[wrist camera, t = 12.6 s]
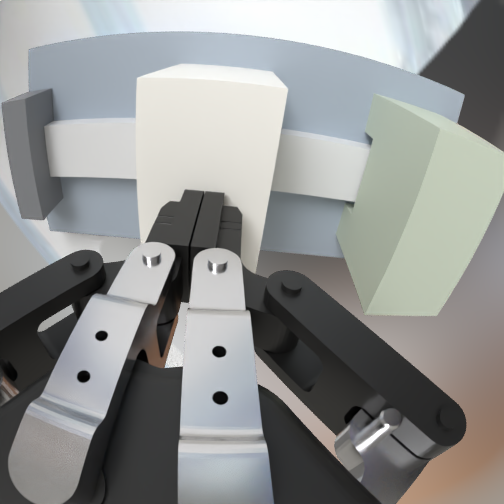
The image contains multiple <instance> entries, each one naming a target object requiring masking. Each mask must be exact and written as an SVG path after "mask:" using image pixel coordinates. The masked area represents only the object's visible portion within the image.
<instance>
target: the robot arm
mask: <svg viewBox="0 0 504 504" xmlns="http://www.w3.org/2000/svg"><path fill="white" fill-rule="evenodd" d="M224 195H225V193H222V192H211V191H205V194H204V191H199V190H187V189H185V190H184V193H183V195H182V198H181V200H180V202H177V201H169V202H168V203H166V204H165V205H164V206H162V207H161V209H160V211H159V213H158V217H157V218H156V220H155V223H154V224H153V226H152V228H151V231H150V233H149V235H148V237H147V240H146V242H145V243H144V244H141V245H139V246H137V247H135V248H134V249H133V250H132V251H131V252H130V254H129V256H128V257H127V259H126V260H124V261H119V262H111V263H103V258H102V256H101V255H100V254H99V253H97V252H95V251H92V250H80V251H77V252H74V253H72V254H70V255H68V256H66V257H64V258H62V259H60V260H58V261H56V262H54V263H53V264H51V265H49V266H47V267H45V268H43V269H41V270H40V271H38V272H36V273H34V274H32V275H31V276H29V277H27V278H25V279H23V280H22V281H20V282H19V283H17V284H15V285H13V286H11V287H9V288H8V289H6V290H4V291H3V292H1V293H0V504H396V503H397V502H398V500H399V499H400V498H401V497H402V496H403V495H404V493H405V492H406V491H407V490H408V488H409V487H410V486H411V485H412V483H413V482H414V481H415V480H416V478H417V477H418V476H419V474H420V473H421V472H422V470H423V469H424V467H425V466H426V465H427V463H428V462H429V461H430V460H432V459H433V458H435V457H437V456H438V455H440V454H442V453H443V452H445V451H446V450H448V449H449V448H451V447H452V446H454V445H455V444H457V443H458V442H459V441H460V440H461V439H462V438H463V436H464V434H465V431H466V418H465V415H464V412H463V410H462V409H461V408H460V406H459V405H458V404H457V403H456V402H455V401H454V400H452V399H451V398H450V397H449V396H448V395H447V394H446V393H444V392H443V391H442V390H441V389H440V388H439V387H437V386H436V385H435V384H434V383H433V382H432V381H430V380H429V379H428V378H427V377H426V376H425V375H423V374H422V373H421V372H420V371H419V370H418V369H416V368H415V367H414V366H413V365H411V363H409V362H408V361H407V360H406V359H404V358H403V357H402V356H401V355H400V354H399V353H398V352H396V351H395V350H394V349H393V348H392V347H391V346H389V345H388V344H387V343H385V341H383V340H382V339H381V338H379V336H377V335H376V334H375V333H374V332H373V331H371V330H370V329H369V328H368V327H366V326H365V325H364V324H363V323H362V322H361V321H360V320H358V319H357V318H356V317H355V316H354V315H352V314H351V313H350V312H349V311H348V310H346V309H345V308H344V307H343V306H342V305H340V304H339V303H338V302H337V301H335V300H334V299H333V298H332V297H331V296H329V295H328V294H327V293H326V292H325V291H323V290H322V289H321V288H320V287H318V286H317V285H316V284H315V283H314V282H312V281H311V280H310V279H309V278H307V277H306V276H305V275H303V274H300V273H298V272H295V271H288V270H284V271H278V272H275V273H273V274H272V275H270V276H269V278H265V277H262V276H259V275H256V274H254V273H252V272H251V271H249V270H248V269H247V268H246V267H245V266H244V265H243V263H242V261H241V237H242V213H241V212H240V210H239V209H238V207H234V206H224ZM189 299H190V305H189V308H188V310H187V319H186V331H185V345H184V359H183V367H173V368H165V363H166V360H167V356H168V353H169V349H170V346H171V343H172V339H173V336H174V332H175V329H176V326H177V323H178V312H179V309H180V304H181V302H186V303H188V302H189ZM71 304H72V307H73V310H74V313H72V314H70V315H69V316H67V317H65V318H64V319H62V320H61V321H59V322H57V323H56V324H54V325H53V326H51V327H49V328H48V329H46V330H45V331H42V332H37V330H38V327H39V325H40V324H41V323H42V322H43V321H44V320H46V319H48V318H49V317H51V316H52V315H54V314H56V313H57V312H59V311H61V310H62V309H64V308H66V307H67V306H69V305H71ZM254 350H255V352H256V354H257V355H258V356H259V357H260V359H261V360H262V361H263V362H264V363H265V364H266V365H267V366H268V367H269V368H270V369H271V370H272V371H273V372H274V373H275V374H276V375H277V377H279V379H280V380H281V381H282V382H283V383H284V384H285V385H286V386H287V387H288V388H289V389H290V390H291V391H292V392H293V393H294V394H295V395H296V396H297V397H298V398H299V399H300V400H301V401H302V402H303V403H304V404H305V405H306V406H307V407H308V408H309V409H310V410H311V411H312V412H313V413H314V414H315V415H316V416H317V417H318V418H319V419H320V420H321V421H322V422H323V423H324V424H325V425H326V426H327V427H328V428H329V429H330V430H331V431H332V432H333V433H334V434H335V435H336V439H335V444H334V447H335V452H336V455H337V457H338V458H339V460H340V461H341V462H342V464H343V465H344V466H343V465H342V464H341V463H340V462H339V461H338V460H337V459H336V458H335V457H334V456H333V455H332V454H331V453H330V452H329V450H328V449H327V448H326V447H325V446H324V445H323V444H322V443H321V442H320V441H319V440H318V439H317V438H316V437H315V436H314V435H313V434H312V432H311V431H310V430H309V429H308V428H307V427H306V426H305V425H304V424H303V423H302V422H301V420H300V419H299V418H298V417H297V416H296V415H295V414H294V413H293V412H292V411H291V409H290V408H289V407H288V406H287V405H286V404H285V403H284V402H283V401H282V400H281V399H280V398H279V397H278V396H276V395H275V394H274V393H272V392H271V391H269V390H268V389H266V388H264V387H262V386H261V385H259V384H257V375H256V366H255V355H254Z"/></svg>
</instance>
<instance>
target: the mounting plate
mask: <svg viewBox="0 0 504 504" xmlns="http://www.w3.org/2000/svg"><path fill="white" fill-rule="evenodd" d="M178 64H203V65H218V66H230V67H240V68H249V69H258V70H265V71H272V72H273V73H274V74H275V75H276V76H277V77H278V78H279V79H280V80H281V81H282V82H283V84H284V85H285V86H286V87H287V88H288V94H287V99H286V105H285V111H284V117H283V122H282V128H281V134H280V140H279V145H278V151H277V157H276V162H275V168H274V174H273V179H272V185H271V191H270V196H269V202H268V207H267V213H266V219H265V224H264V230H263V235H262V241H261V246H260V250H264V251H274V252H284V253H295V254H306V255H316V256H326V257H338V258H345V260H346V263H347V266H348V269H349V271H350V274H351V277H352V280H353V283H354V286H355V288H356V291H357V294H358V297H359V300H360V303H361V306H362V309H363V312H364V315H387V316H437V314H438V313H439V311H440V310H441V308H442V307H443V305H444V304H445V302H446V301H447V299H448V298H449V296H450V294H451V293H452V291H453V289H454V287H455V286H456V285H457V283H458V281H459V280H460V278H461V276H462V274H463V273H464V271H465V269H466V267H467V265H468V264H469V262H470V260H471V259H472V256H473V254H474V253H475V251H476V249H477V247H478V245H479V243H480V242H481V240H482V238H483V236H484V234H485V232H486V229H487V228H488V226H489V223H490V221H491V219H492V217H493V215H494V213H495V210H496V208H497V206H498V204H499V202H500V199H501V197H502V195H503V192H504V152H503V151H501V150H499V149H498V148H496V147H495V146H493V145H492V144H490V143H489V142H487V141H485V140H484V139H482V138H481V137H479V136H477V135H476V134H474V133H472V132H471V131H469V130H467V129H465V128H464V127H462V126H460V125H458V124H457V121H458V118H459V114H460V110H461V107H462V103H463V99H464V94H462V93H460V92H457V91H455V90H453V89H450V88H448V87H446V86H444V85H441V84H439V83H437V82H434V81H431V80H429V79H426V78H424V77H422V76H419V75H416V74H414V73H411V72H408V71H405V70H402V69H400V68H397V67H394V66H391V65H387V64H384V63H381V62H378V61H375V60H371V59H368V58H364V57H361V56H357V55H353V54H349V53H346V52H342V51H337V50H333V49H329V48H324V47H320V46H315V45H310V44H305V43H299V42H293V41H287V40H281V39H274V38H267V37H259V36H250V35H240V34H228V33H212V32H143V33H128V34H116V35H107V36H98V37H90V38H84V39H77V40H71V41H65V42H60V43H55V44H50V45H45V46H41V47H36V48H32V49H29V92H27V93H24V94H22V95H19V96H17V97H15V98H12V99H10V100H7V101H5V102H3V103H2V112H3V122H4V131H5V138H6V145H7V152H8V158H9V164H10V169H11V174H12V179H13V184H14V189H15V193H16V197H17V202H18V206H19V210H20V214H21V217H22V219H35V220H44V219H45V218H46V217H47V220H48V224H49V228H50V231H60V232H71V233H81V234H92V235H103V236H114V237H125V238H136V239H140V229H139V215H138V199H137V178H136V86H137V78H138V77H140V76H143V75H146V74H149V73H152V72H155V71H158V70H162V69H165V68H168V67H171V66H175V65H178Z"/></svg>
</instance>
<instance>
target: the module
mask: <svg viewBox="0 0 504 504" xmlns="http://www.w3.org/2000/svg"><path fill="white" fill-rule="evenodd" d="M287 94H288V88H287V87H286V86H285V85H284V84H283V82H282V81H281V80H280V79H279V78H278V77H277V76H276V75H275V74H274V73H273V72H272V71H265V70H258V69H249V68H240V67H230V66H218V65H203V64H178V65H175V66H171V67H168V68H165V69H162V70H158V71H155V72H152V73H149V74H146V75H143V76H140V77H138V78H137V86H136V178H137V199H138V215H139V229H140V241H141V244H144V243H145V242H146V240H147V237H148V235H149V233H150V231H151V228H152V226H153V224H154V223H155V220H156V218H157V217H158V213H159V211H160V209H161V207H162V206H164V205H165V204H166V203H168V202H169V201H177V202H180V200H181V198H182V195H183V193H184V190H185V189H187V190H199V191H204V194H205V191H211V192H222V193H225V195H224V206H234V207H238V209H239V210H240V212H241V213H242V237H241V261H242V263H243V265H244V266H245V267H246V268H247V269H248V270H249V271H251V272H252V273H254V274H256V268H257V263H258V257H259V252H260V246H261V241H262V235H263V230H264V224H265V219H266V213H267V207H268V202H269V196H270V191H271V185H272V179H273V174H274V168H275V162H276V157H277V151H278V145H279V140H280V134H281V128H282V122H283V117H284V111H285V105H286V99H287ZM189 302H190V299H189Z"/></svg>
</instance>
